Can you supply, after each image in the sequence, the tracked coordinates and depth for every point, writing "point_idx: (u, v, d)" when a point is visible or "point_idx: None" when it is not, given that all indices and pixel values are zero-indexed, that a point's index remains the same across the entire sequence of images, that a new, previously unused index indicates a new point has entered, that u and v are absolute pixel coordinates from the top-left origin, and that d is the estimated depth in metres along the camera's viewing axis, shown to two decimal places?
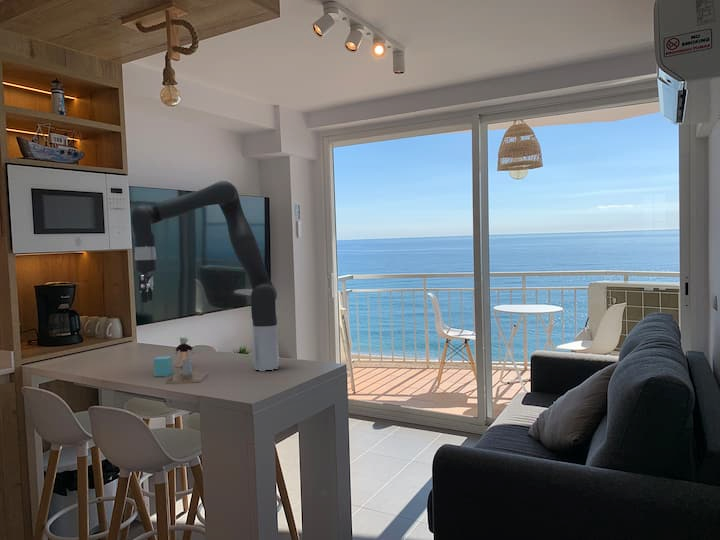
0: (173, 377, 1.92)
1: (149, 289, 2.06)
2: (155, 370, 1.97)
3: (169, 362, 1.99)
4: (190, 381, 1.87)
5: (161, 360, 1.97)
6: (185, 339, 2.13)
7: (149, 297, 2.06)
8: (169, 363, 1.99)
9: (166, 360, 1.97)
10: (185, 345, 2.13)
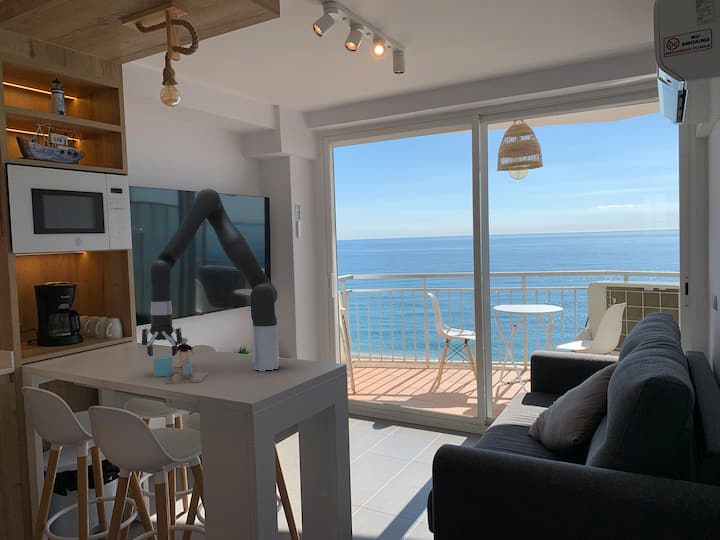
0: (173, 377, 1.92)
1: (151, 344, 2.00)
2: (155, 370, 1.97)
3: (169, 362, 1.99)
4: (190, 381, 1.87)
5: (161, 360, 1.97)
6: (185, 339, 2.13)
7: (151, 352, 2.00)
8: (169, 363, 1.99)
9: (166, 360, 1.97)
10: (185, 345, 2.13)
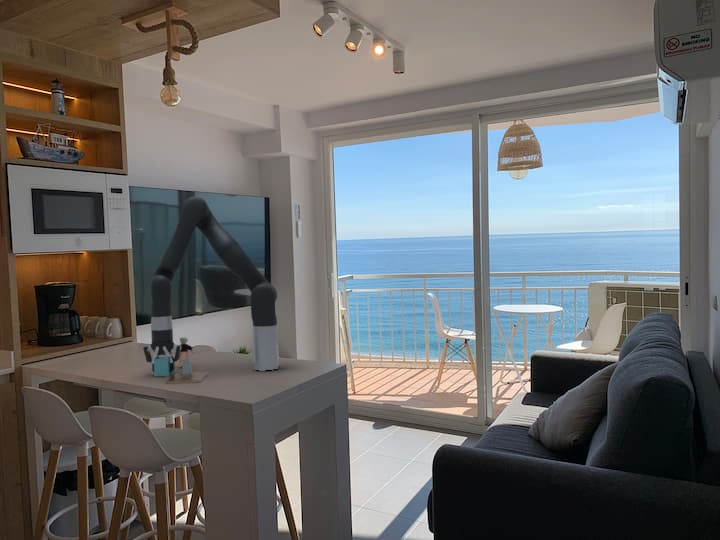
0: (173, 377, 1.92)
1: None
2: (155, 370, 1.97)
3: (169, 362, 1.99)
4: (190, 381, 1.87)
5: (161, 360, 1.97)
6: (185, 339, 2.13)
7: None
8: None
9: (166, 360, 1.97)
10: (185, 345, 2.13)
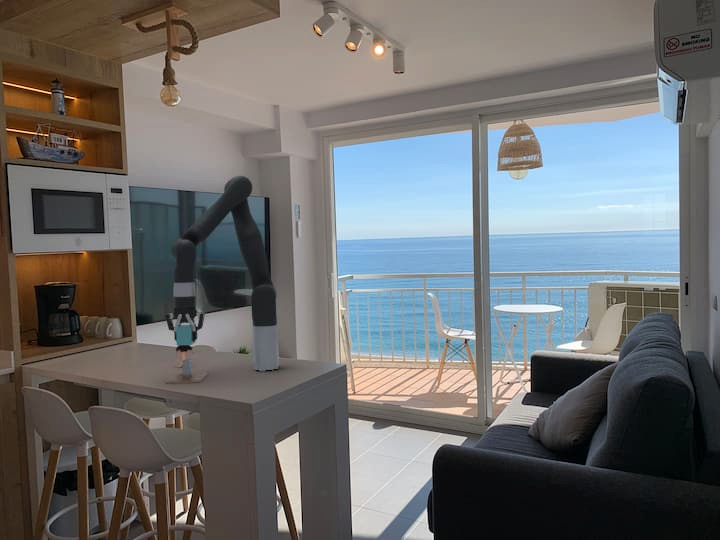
0: (173, 377, 1.92)
1: None
2: (177, 338, 1.89)
3: (192, 330, 1.91)
4: (190, 381, 1.87)
5: (184, 328, 1.89)
6: None
7: None
8: (192, 331, 1.91)
9: (189, 328, 1.89)
10: (185, 345, 2.13)
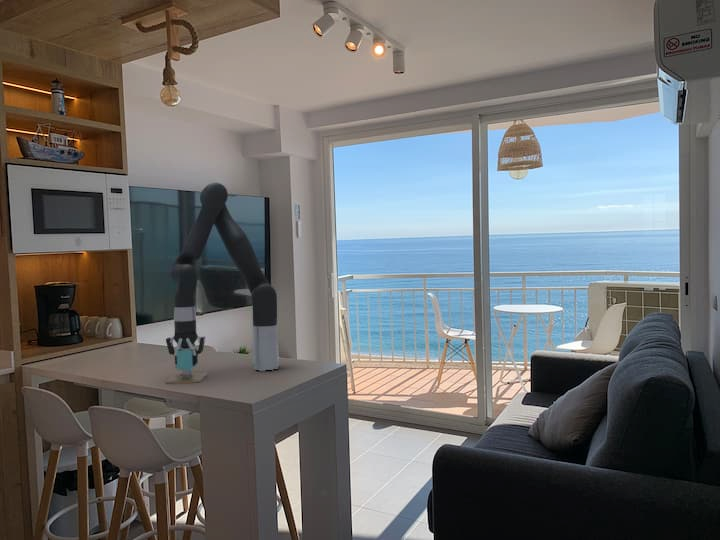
0: (173, 377, 1.92)
1: None
2: (178, 363, 1.90)
3: (192, 354, 1.91)
4: (190, 381, 1.87)
5: (184, 352, 1.90)
6: None
7: None
8: (192, 355, 1.91)
9: (189, 352, 1.90)
10: None
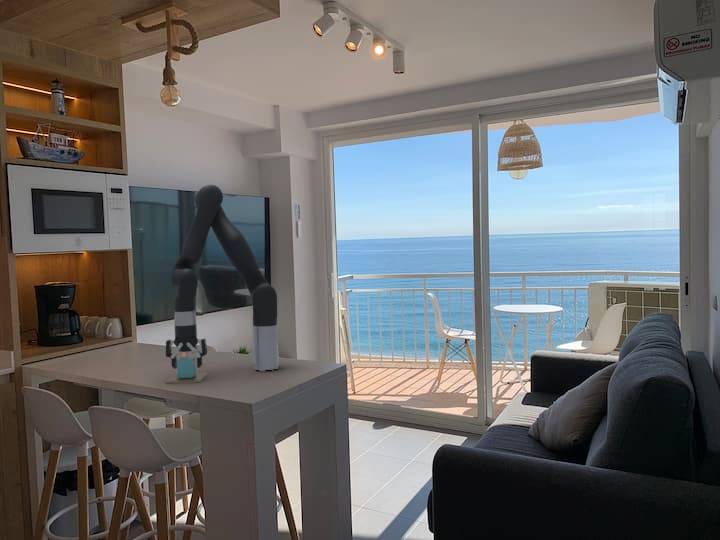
0: (173, 377, 1.92)
1: (175, 356, 1.92)
2: (178, 371, 1.90)
3: (193, 363, 1.91)
4: (190, 381, 1.87)
5: (185, 361, 1.90)
6: None
7: (176, 364, 1.92)
8: (193, 364, 1.91)
9: (190, 361, 1.90)
10: None
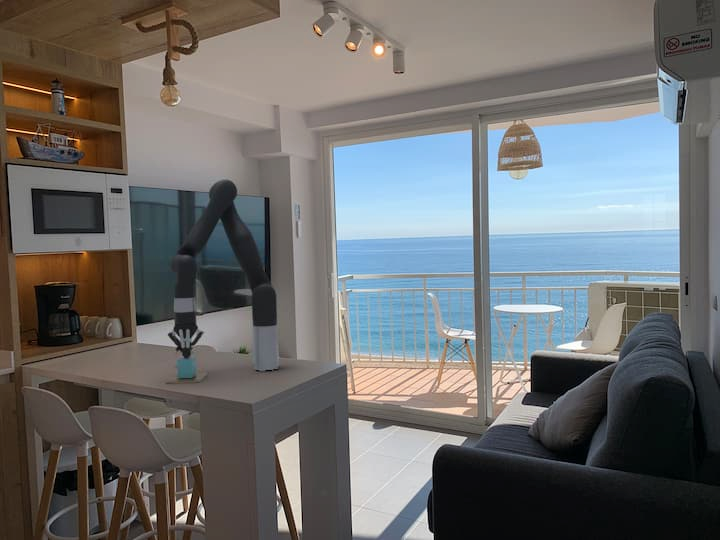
0: (173, 377, 1.92)
1: (185, 344, 1.92)
2: (178, 371, 1.90)
3: (193, 363, 1.91)
4: (190, 381, 1.87)
5: (185, 361, 1.90)
6: None
7: None
8: (193, 364, 1.91)
9: (190, 361, 1.90)
10: None
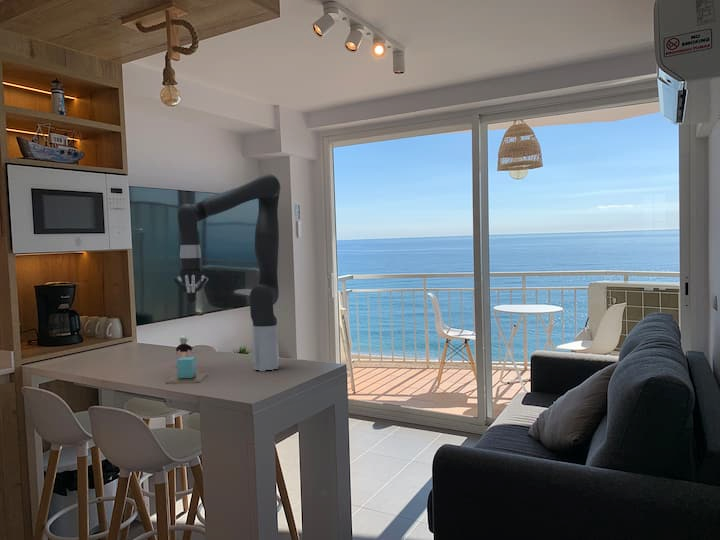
0: (173, 377, 1.92)
1: (191, 290, 2.01)
2: (178, 371, 1.90)
3: (193, 363, 1.91)
4: (190, 381, 1.87)
5: (185, 361, 1.90)
6: (185, 339, 2.13)
7: None
8: (193, 364, 1.91)
9: (190, 361, 1.90)
10: (185, 345, 2.13)
